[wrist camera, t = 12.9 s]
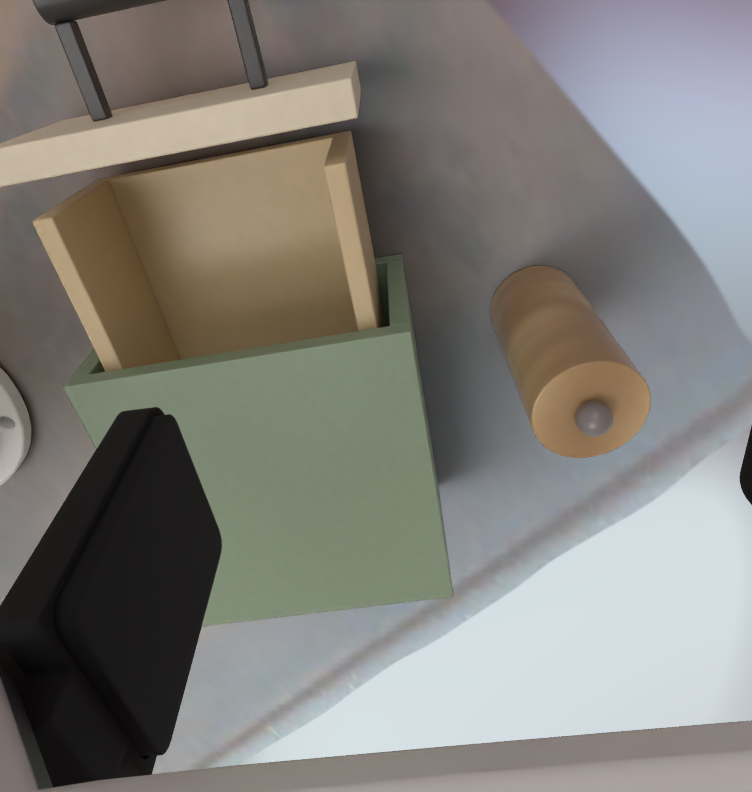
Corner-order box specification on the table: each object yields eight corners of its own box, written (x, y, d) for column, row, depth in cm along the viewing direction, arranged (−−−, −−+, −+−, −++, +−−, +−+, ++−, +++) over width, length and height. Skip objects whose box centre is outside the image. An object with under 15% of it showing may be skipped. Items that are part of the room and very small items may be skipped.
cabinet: (133, 299, 31) (61, 387, 24) (401, 253, 30) (410, 331, 23) (226, 514, 40) (193, 627, 32) (438, 486, 38) (453, 597, 31)
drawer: (8, -4, 23) (-110, -7, 18) (332, -77, 22) (319, -106, 16) (179, 398, 34) (139, 479, 28) (407, 363, 32) (415, 439, 27)
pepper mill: (482, 342, 33) (525, 472, 24) (499, 261, 30) (554, 372, 21) (565, 348, 33) (639, 479, 24) (589, 268, 30) (682, 381, 21)
